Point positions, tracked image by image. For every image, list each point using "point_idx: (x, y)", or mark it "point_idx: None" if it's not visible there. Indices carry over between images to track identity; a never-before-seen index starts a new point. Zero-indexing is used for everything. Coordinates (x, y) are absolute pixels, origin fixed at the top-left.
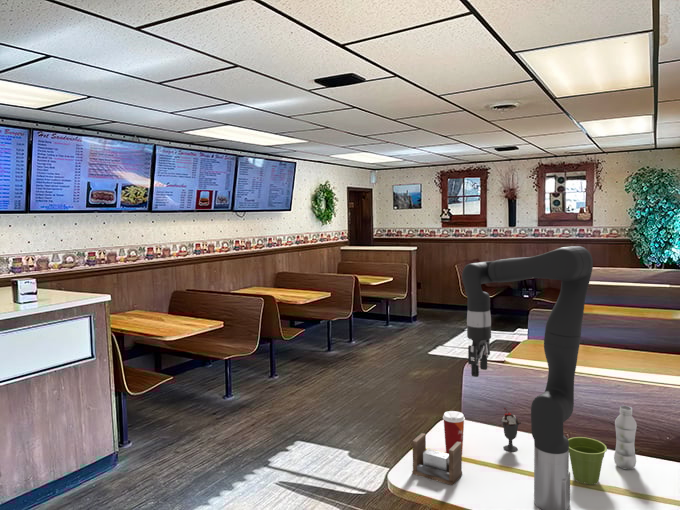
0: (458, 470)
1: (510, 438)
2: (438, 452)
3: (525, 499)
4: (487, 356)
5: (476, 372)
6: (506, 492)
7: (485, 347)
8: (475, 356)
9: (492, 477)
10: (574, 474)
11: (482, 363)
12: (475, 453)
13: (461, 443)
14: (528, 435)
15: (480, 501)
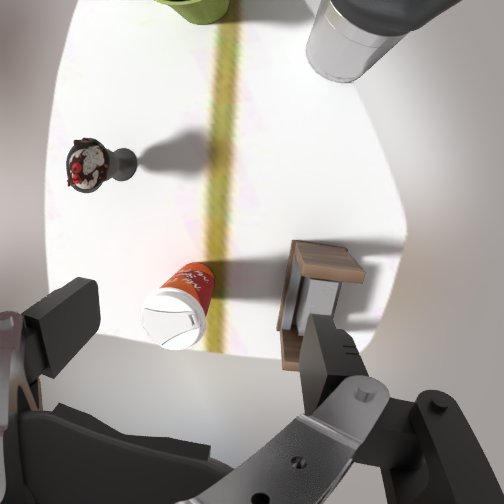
0: (317, 248)
1: (118, 161)
2: (310, 308)
3: (342, 98)
4: (8, 323)
5: (345, 345)
6: (331, 136)
7: (11, 473)
8: (488, 470)
9: (278, 173)
10: (216, 16)
11: (73, 334)
12: (177, 234)
13: (195, 271)
14: (52, 147)
15: (384, 183)
